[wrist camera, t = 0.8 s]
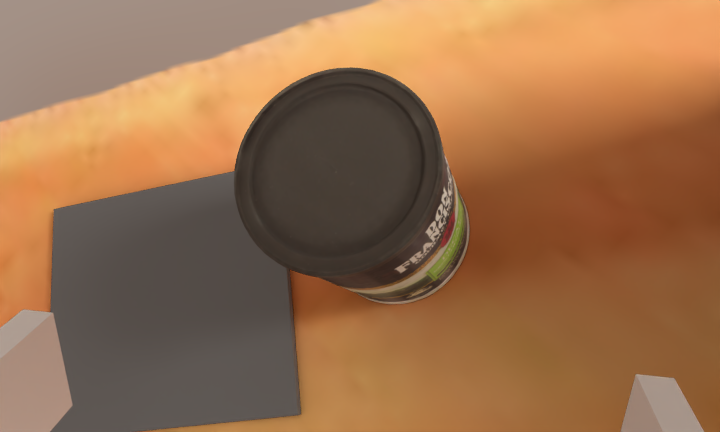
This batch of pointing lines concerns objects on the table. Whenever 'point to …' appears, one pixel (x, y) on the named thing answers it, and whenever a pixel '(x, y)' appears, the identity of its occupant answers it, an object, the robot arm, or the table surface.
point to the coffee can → (353, 186)
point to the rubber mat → (170, 312)
